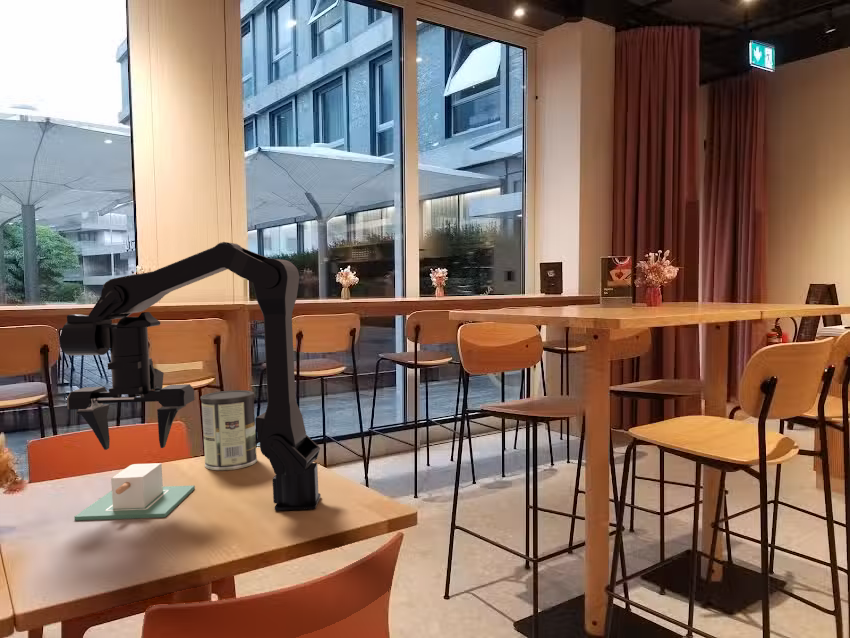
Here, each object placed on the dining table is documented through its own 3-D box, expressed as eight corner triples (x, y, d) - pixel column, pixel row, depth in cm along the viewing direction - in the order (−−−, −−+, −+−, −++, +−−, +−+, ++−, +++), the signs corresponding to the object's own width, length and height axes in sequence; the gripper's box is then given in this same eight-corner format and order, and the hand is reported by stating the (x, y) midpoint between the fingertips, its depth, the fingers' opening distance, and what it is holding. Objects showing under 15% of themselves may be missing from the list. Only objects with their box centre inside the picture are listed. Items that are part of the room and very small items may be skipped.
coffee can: (238, 454, 139) (235, 388, 139) (267, 461, 133) (264, 392, 132) (193, 465, 132) (190, 395, 131) (222, 473, 125) (219, 400, 124)
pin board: (194, 488, 116) (194, 473, 116) (165, 517, 102) (164, 499, 102) (115, 491, 116) (114, 475, 116) (74, 520, 102) (73, 502, 102)
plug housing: (163, 491, 113) (161, 463, 113) (135, 515, 102) (133, 483, 101) (133, 492, 113) (132, 464, 113) (102, 516, 101) (100, 485, 101)
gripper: (202, 347, 116) (206, 435, 117) (96, 350, 115) (100, 438, 116) (180, 355, 105) (185, 451, 106) (62, 358, 104) (68, 455, 105)
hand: (134, 448), depth 108 cm, fingers open, 9 cm apart
